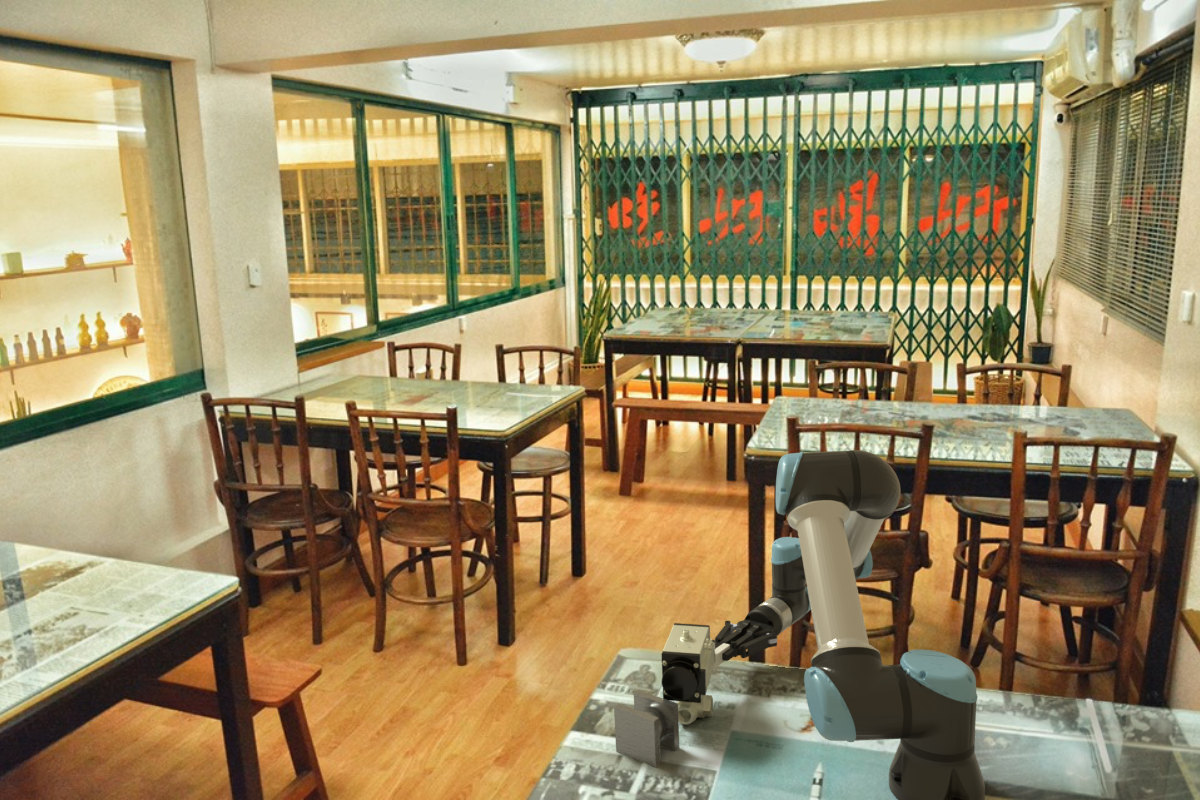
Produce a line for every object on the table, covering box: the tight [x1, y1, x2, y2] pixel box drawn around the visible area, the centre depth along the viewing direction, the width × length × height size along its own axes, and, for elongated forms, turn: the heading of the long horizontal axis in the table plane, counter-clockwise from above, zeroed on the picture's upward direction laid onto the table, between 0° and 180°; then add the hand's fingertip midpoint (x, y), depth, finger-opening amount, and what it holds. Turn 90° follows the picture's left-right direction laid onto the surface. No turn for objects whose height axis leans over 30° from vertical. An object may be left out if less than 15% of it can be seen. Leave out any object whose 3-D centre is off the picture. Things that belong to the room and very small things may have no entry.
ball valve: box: [661, 622, 715, 725], centre depth 181 cm, size 18×8×18 cm, turn 165°
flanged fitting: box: [613, 689, 680, 768], centre depth 171 cm, size 9×8×9 cm
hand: (710, 662), depth 188 cm, fingers closed
